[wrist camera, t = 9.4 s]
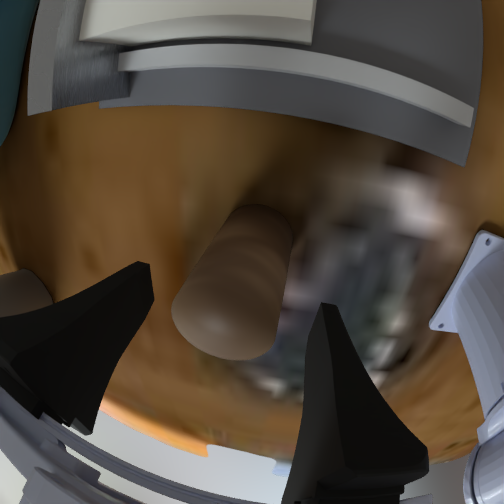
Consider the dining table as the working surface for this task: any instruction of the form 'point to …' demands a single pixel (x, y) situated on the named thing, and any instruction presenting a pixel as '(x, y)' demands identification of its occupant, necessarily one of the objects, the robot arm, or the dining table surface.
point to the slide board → (337, 72)
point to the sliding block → (197, 20)
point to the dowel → (237, 286)
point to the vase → (22, 293)
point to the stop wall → (71, 61)
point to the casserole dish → (12, 55)
